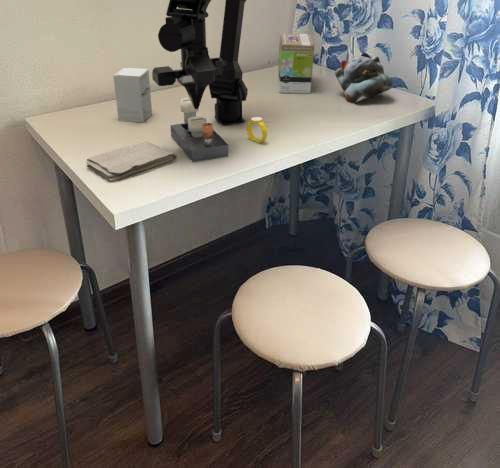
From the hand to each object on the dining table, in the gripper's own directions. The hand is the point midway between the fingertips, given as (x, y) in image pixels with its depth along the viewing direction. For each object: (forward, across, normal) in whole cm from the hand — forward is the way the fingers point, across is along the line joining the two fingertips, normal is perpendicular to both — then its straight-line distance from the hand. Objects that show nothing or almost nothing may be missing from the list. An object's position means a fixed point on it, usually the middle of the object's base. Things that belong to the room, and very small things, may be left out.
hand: (196, 108), depth 138 cm
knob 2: (+8, 0, 0) cm, 8 cm away
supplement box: (+10, -9, +25) cm, 29 cm away
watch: (+10, +15, -3) cm, 18 cm away
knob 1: (+5, 0, +6) cm, 8 cm away
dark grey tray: (+10, 0, 0) cm, 10 cm away
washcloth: (+10, -18, -4) cm, 21 cm away
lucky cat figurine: (+10, +57, +15) cm, 60 cm away
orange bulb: (+6, 0, -7) cm, 10 cm away
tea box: (+10, +44, +33) cm, 56 cm away
